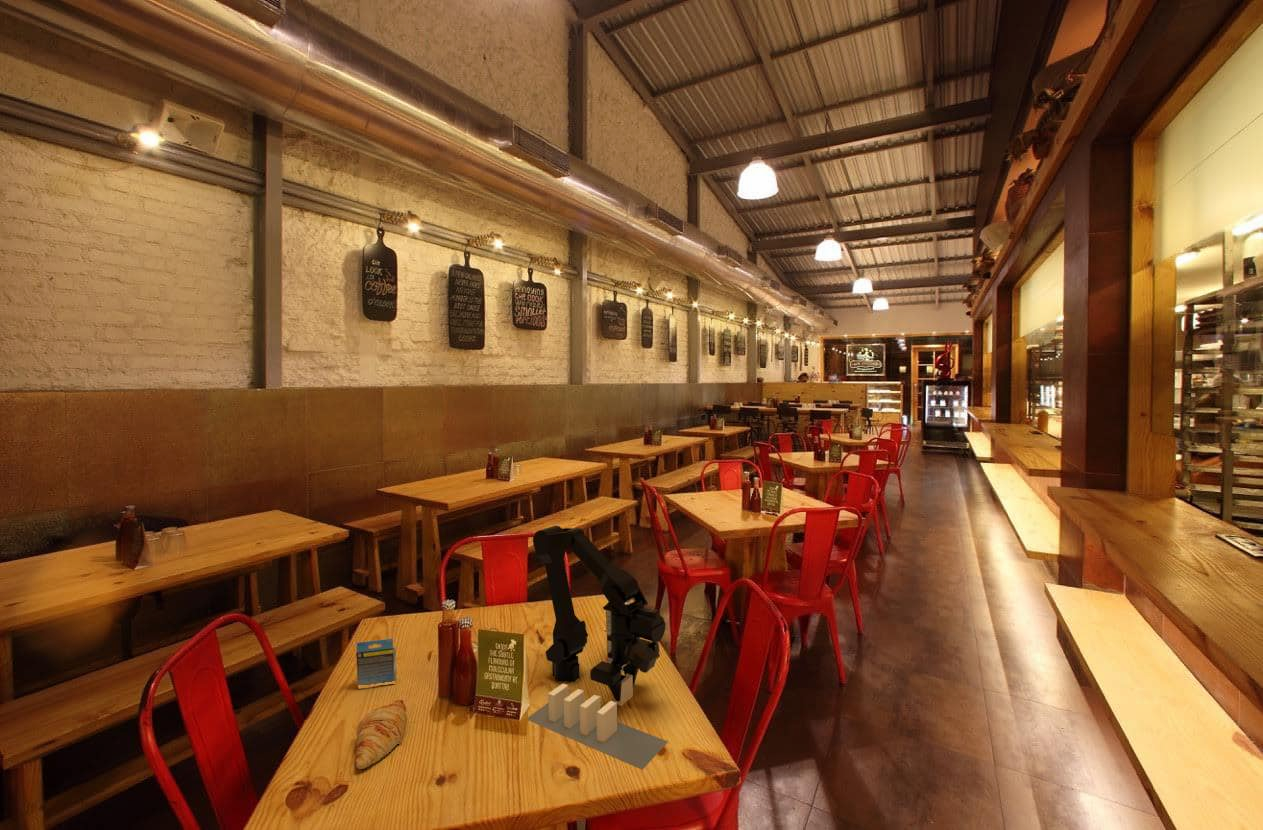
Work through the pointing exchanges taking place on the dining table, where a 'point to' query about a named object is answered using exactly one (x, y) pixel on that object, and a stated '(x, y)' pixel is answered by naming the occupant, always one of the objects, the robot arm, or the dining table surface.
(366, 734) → the croissant
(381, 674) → the label tape box
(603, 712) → the domino
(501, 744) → the dining table surface
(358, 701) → the dining table surface
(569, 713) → the domino
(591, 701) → the domino
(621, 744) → the metal plate
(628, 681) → the domino
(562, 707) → the domino
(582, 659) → the dining table surface
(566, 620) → the robot arm
